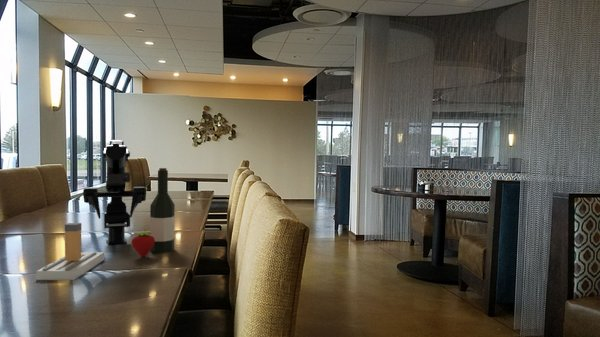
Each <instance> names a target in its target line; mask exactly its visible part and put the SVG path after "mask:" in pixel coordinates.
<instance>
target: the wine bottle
mask: <svg viewBox="0 0 600 337" xmlns="http://www.w3.org/2000/svg"><path fill="white" fill-rule="evenodd" d="M167 169H168V168H166V167H159V169H158V170H157V194H156V195H155V198H154V199H153V200H152V202H151V204H150V208H149V209H150V211H149V212H150V215H149V216H150V217H149V218H150V220H149V222H150V223H149V224H150V225H149V228H150V231H149V233H152V234H149V235H151V236H153V237H154V239H155V242H154V245H153V247H152V249H151V250H150V251H149V252H151V253H153V254H167V253H171V252H173V251H174V250H175V211H176V210H175V209H176V208H175V206H176V205H175V203H174V201H173V200H172V198H171V196H170V194H169V193H168V191H169V189H168V188H169V187H168V186H169V185H168V184H169V183H168V182H169V170H167Z"/></svg>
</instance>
